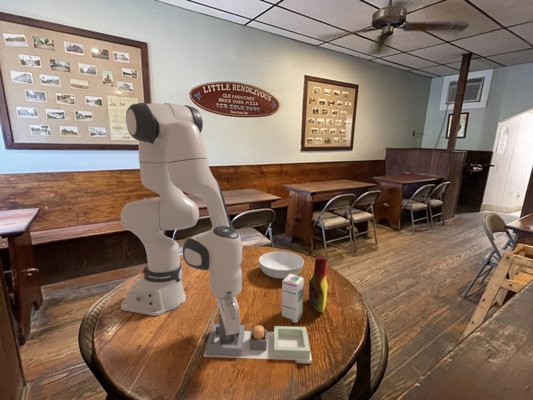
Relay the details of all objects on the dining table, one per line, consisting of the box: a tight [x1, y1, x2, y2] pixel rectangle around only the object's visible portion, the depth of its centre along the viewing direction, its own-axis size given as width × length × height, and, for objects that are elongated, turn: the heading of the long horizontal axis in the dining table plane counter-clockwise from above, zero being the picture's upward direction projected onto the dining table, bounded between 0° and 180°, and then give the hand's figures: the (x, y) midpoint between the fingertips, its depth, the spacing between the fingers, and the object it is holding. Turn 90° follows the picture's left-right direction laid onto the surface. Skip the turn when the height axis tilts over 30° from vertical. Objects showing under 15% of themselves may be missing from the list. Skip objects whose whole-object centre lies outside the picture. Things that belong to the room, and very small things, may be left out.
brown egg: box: [253, 324, 265, 340], centre depth 78 cm, size 3×3×4 cm
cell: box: [218, 313, 234, 345], centre depth 79 cm, size 4×4×9 cm
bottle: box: [308, 255, 329, 313], centre depth 98 cm, size 12×6×20 cm, turn 178°
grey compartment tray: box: [203, 323, 313, 365], centre depth 79 cm, size 30×11×4 cm, turn 89°
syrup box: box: [281, 274, 305, 324], centre depth 92 cm, size 6×6×14 cm
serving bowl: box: [258, 251, 305, 280], centre depth 124 cm, size 21×21×7 cm
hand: (226, 326), depth 79 cm, fingers closed on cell, 4 cm apart
